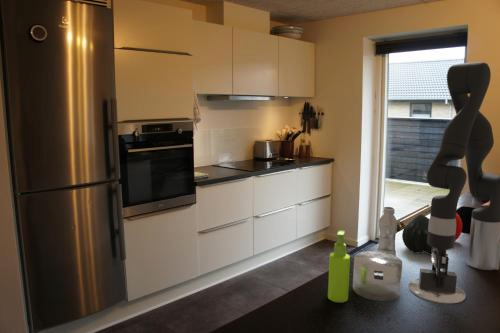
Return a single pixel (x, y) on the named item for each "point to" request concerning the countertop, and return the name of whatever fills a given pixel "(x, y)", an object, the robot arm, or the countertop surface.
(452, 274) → the cooker lid
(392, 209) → the plastic bottle
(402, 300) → the countertop surface
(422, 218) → the squash
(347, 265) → the soap dispenser
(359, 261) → the cooker pot
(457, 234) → the tomato
